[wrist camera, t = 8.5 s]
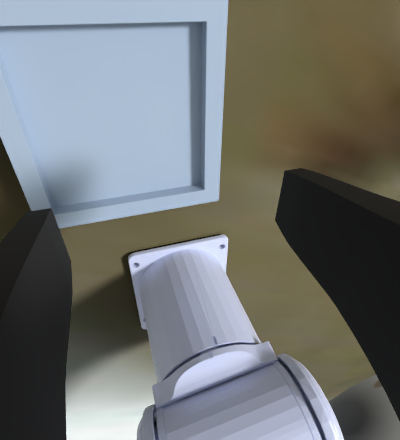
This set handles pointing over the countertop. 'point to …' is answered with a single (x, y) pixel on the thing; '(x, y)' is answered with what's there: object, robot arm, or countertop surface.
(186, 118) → the dish
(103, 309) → the countertop surface
